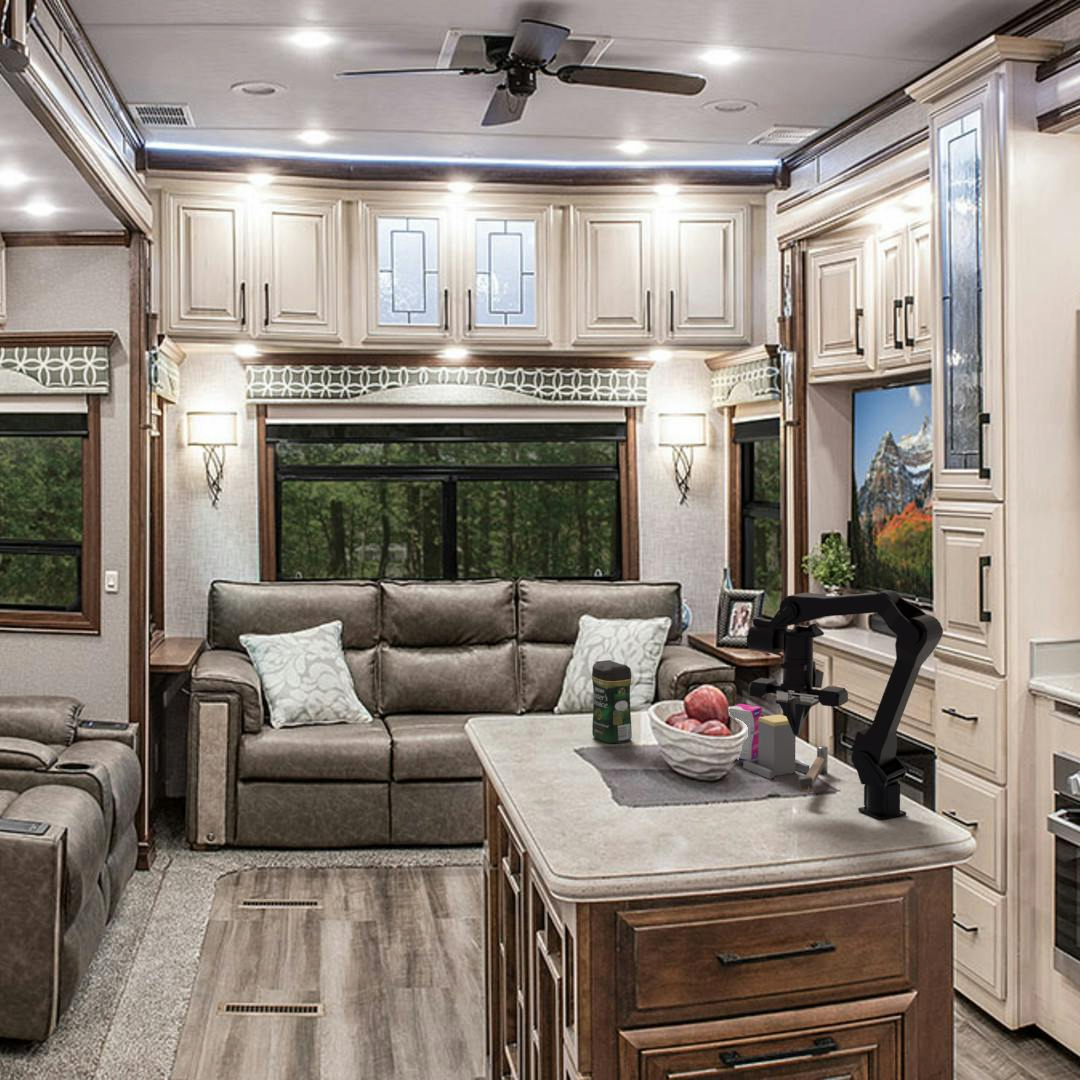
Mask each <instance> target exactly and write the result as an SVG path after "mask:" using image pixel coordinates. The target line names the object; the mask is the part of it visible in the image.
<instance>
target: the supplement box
mask: <svg viewBox="0 0 1080 1080" xmlns="http://www.w3.org/2000/svg"><path fill="white" fill-rule="evenodd" d="M729 708H730V709H729V712H730V715H731V716H732V717H733V718H737V719H739V720H741V721H743V722H744V723H745V724H746V725H747V727H748V737H747V739H746V740H745V741H744V743H743V745H742V751H741V754H740V757H739V760H740V761H739V760H738V761H739V762H743V761H745V760H752V759H759V717H763V716H762V715H763V707H762V706H756V705H750V704H744V703H738V704H735V705H733V706H730V707H729Z"/></svg>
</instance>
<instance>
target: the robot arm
mask: <svg viewBox="0 0 1080 1080" xmlns="http://www.w3.org/2000/svg"><path fill="white" fill-rule="evenodd" d="M875 613H876V614H878V615H879V616H880V617H881V619H883V621H884V623H885V624H886V626H887V627H888V629H889V630H891V632H892V633H894V634H895V635H896V639H895V642H894V643H895V644H894V647H895V648H894V649H895V656H896V657H895V661H894V665H893V667H892V669H891V673H890V675H889V678H888V681H887V683H886V686H885V689H884V691H883V694H882V697H881V700H880V702H879V705H878V707H877V709H876V713H875V715H874V718H873V721H872V724H871V725H870V726H869V727H866V728H862V729H861V730H860V729H859V730H858V731H857V732H856V734H855V738H854V743H853V744H852V746H851V747H850V748H849V750H850V752H851V757H850V758H851V759H850V760H851V763H852V764H853V766H854V768H855V770H856V772H857V775H858V778H859V781H860V782H859V783H860V784H861V785H864V786H863V787H864V788H863V806H861V807H858V810H857V811H858V812H861V813H862V814H865V815H868V816H870V817H873V818H876V819H878V820H887V819H891V818H898V817H902V816H907V812H906V811H905V810H903V809H901V783H899V781H900V780H903V779H905V777H906V774H907V772H908V768H907V767H906V766H905V764H904V763H903V762H902V761H901V759H900V758H899V757H898V756H897V750H898V737H897V730H898V728H899V725H900V722H901V720H902V718H903V717H902V716H903V715H904V712H905V709H906V707H907V704H908V701H909V699H910V697H911V694H912V690H913V688H914V686H915V683H916V681H917V678H918V676H919V673H920V670H921V668H922V665H924V663H925V661H927V659H928V658H929V657H930V656H931V654H932V653H934V652H935V650H936V648H937V646H938V644H939V643H940V641H941V639H942V637H943V633H944V628H943V627H942V625H941V622H940V621H939V619H938V618H936V617H934V616H933V615H931V614H927V613H926V612H925V611H923V610H922V609H921V608H920V607H919V606H916V605H915V604H913V603H911V602H909V601H907V600H906V599H904V598H903V597H902V596H901V595H900V594H899V593H898V592H896V591H894V590H890V589H889V590H884V591H882V590H881V591H880V592H868V593H866V592H865V593H855V594H842V595H824V594H821V593H813V592H801V593H796V594H791V595H788V596H787V595H786V596H784V597H783V598H782V599H781V602H780V604H779V609H778V610H777V612H776V613H775V615H774V616H773V618H772V619H767V618H764V617H759V616H758V617H754V618H753V619H752V624H751V626H750V627H749V629H748V632H747V635H746V644H747V649H748V650H750V651H753V652H759V653H760V652H761V653H766V654H772V655H773V654H774V655H779V654H780V653H782V651H783V658H782V659H783V660H782V661H783V662H781V663H780V669H783V670H782V673H783V674H782V682H781V683H780V684H779V683H778V680H777V679H775V678H773V679H772V678H765V677H759V678H757V679H755V680H753V681H751V682H750V683H749V685H748V692H747V693H748V696H749V697H755V698H764V697H765V696H766V695H767V694H773V695H774V694H775V695H776V700H774V703H775V704H778V705H779V706H780V708H781V710H782V712H783V713H784V716H786V717H787V719H788V722H789V724H790V727H791V729H792V731H793V734H794V735H796V736H799V735H800V734H801V732H802V729H803V726H804V725H805V722H806V718H807V716H808V714H809V712H810V710H811V709H812V707H814V706H816V705H818V704H819V703H820V705H822V706H826V707H832V708H838V707H841V706H842V705H844V704H846V703H848V702H849V699H848V698H849V693H848V691H847V689H846V688H845V687H842V686H841V687H839V686H832V685H831V686H830V685H828V686H825V687H824V688H822V687H823V680H824V673H825V672H823V671H821V670H819V669H817V667H816V666H817V665H816V660H814V639H815V638H818V637H822V636H825V632H824V631H823V630H822V629H821V628H820V627H818V624H817V623H811V624H809V625H808V626H802V625H799V624H802V623H806V622H811V621H812V622H813V621H815V620H819V619H822V618H826V617H835V616H836V617H837V616H846V615H847V616H849V615H850V616H851V615H864V614H875ZM793 625H794V626H793ZM789 626H793V627H792V628H787V627H789Z"/></svg>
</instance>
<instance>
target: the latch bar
mask: <svg viewBox="0 0 1080 1080" xmlns="http://www.w3.org/2000/svg"><path fill="white" fill-rule="evenodd" d="M825 763H826V758H825V757H817V756H816V758H815V759H814V761H813V763H812V764H811V766H809V771H808V773H806V774H805V775H801V776H799V777H798V788H799V792H803V793H810V792H811V790H812V788H813V786H814V785H815V783H816V781H817V779H818V778H819V776H820V775H821V774H820V772H821V770H822V769H823V767H824V765H825Z"/></svg>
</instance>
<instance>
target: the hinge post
mask: <svg viewBox="0 0 1080 1080" xmlns="http://www.w3.org/2000/svg"><path fill="white" fill-rule="evenodd" d="M828 751H829V749H828V746H824V745H819V746H816V757H825V758H826V763H825V765H824V767H823V769H822V770H821V772H820V774H819V775H827V774H828V770H829V769H828V768H829V767H828V762H829V761H828V759H829V757H828V756H829V755H828V753H829V752H828Z"/></svg>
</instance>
